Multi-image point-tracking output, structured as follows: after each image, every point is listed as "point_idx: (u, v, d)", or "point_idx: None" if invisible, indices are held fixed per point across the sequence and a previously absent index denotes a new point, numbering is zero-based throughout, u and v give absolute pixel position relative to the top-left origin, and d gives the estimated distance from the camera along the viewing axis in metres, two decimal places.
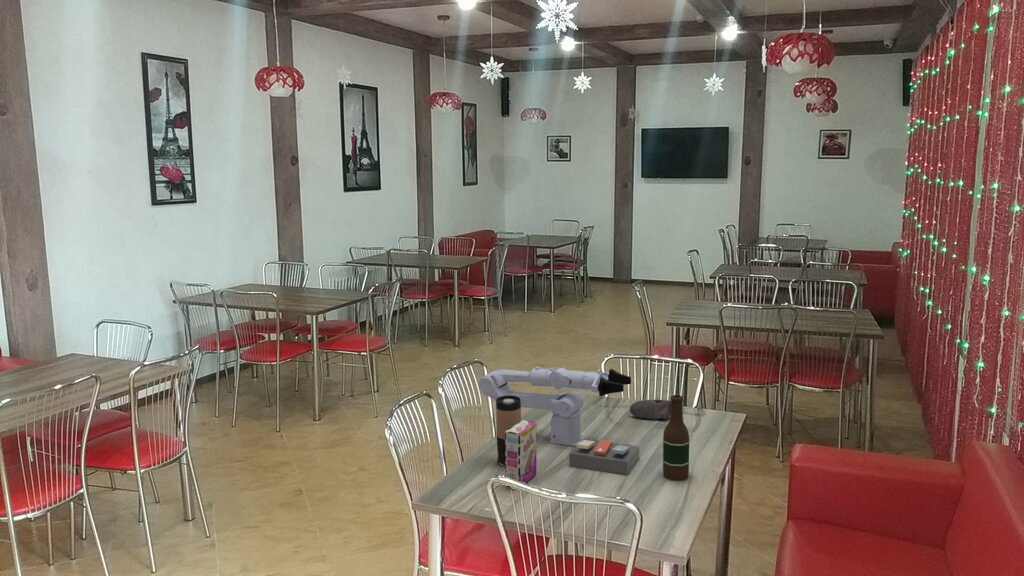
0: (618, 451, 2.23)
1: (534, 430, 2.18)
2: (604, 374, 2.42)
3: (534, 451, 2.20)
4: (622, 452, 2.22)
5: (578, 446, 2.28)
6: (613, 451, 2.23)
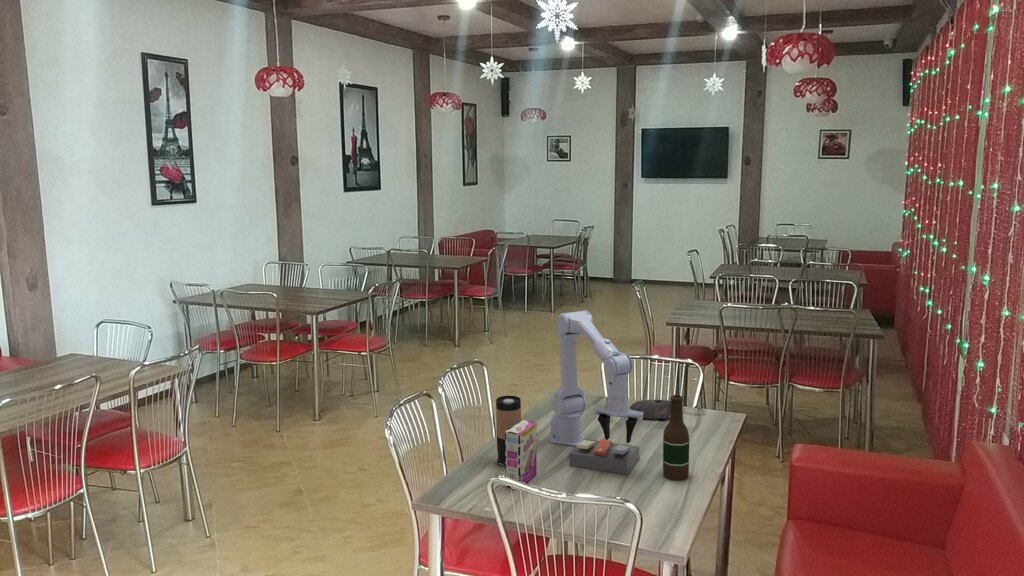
0: (618, 451, 2.23)
1: (534, 430, 2.18)
2: None
3: (534, 451, 2.20)
4: (622, 452, 2.22)
5: (578, 446, 2.28)
6: (613, 451, 2.23)
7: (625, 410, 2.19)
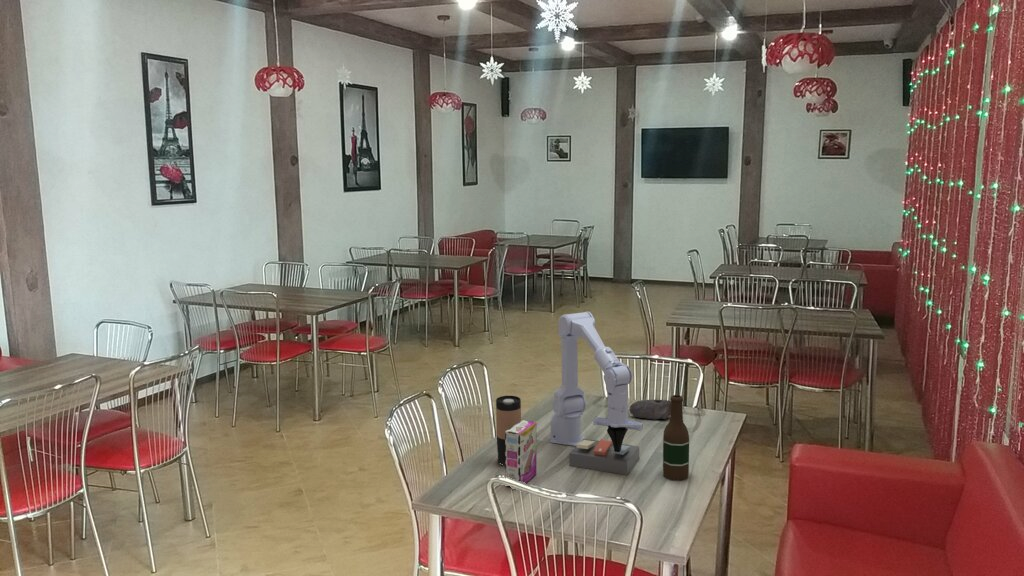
0: None
1: (534, 430, 2.18)
2: None
3: (534, 451, 2.20)
4: (622, 452, 2.22)
5: (578, 446, 2.28)
6: (613, 451, 2.23)
7: (625, 421, 2.19)
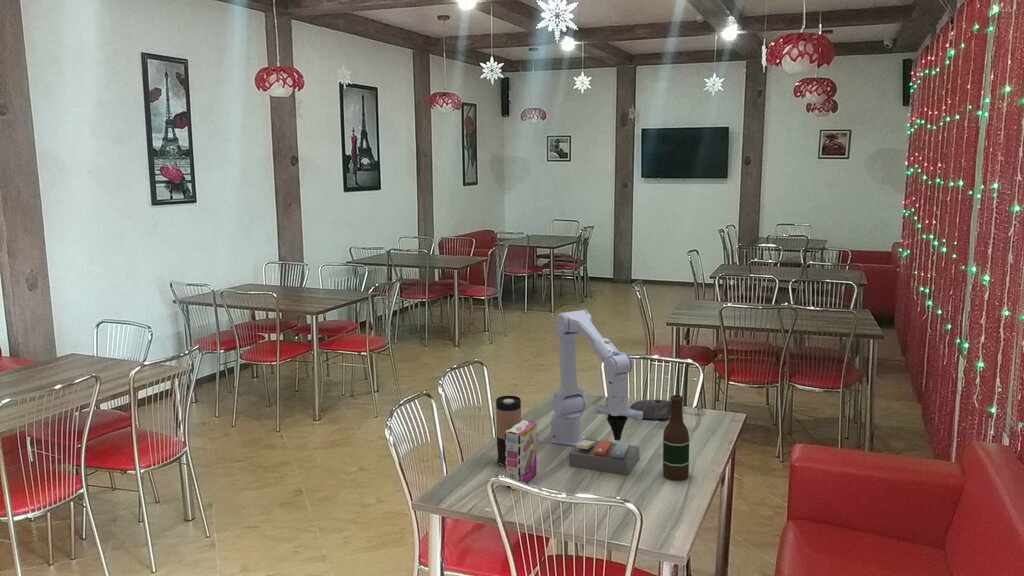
0: (618, 455, 2.23)
1: (534, 430, 2.18)
2: None
3: (534, 451, 2.20)
4: (622, 456, 2.22)
5: (578, 446, 2.28)
6: (613, 455, 2.23)
7: (625, 409, 2.20)
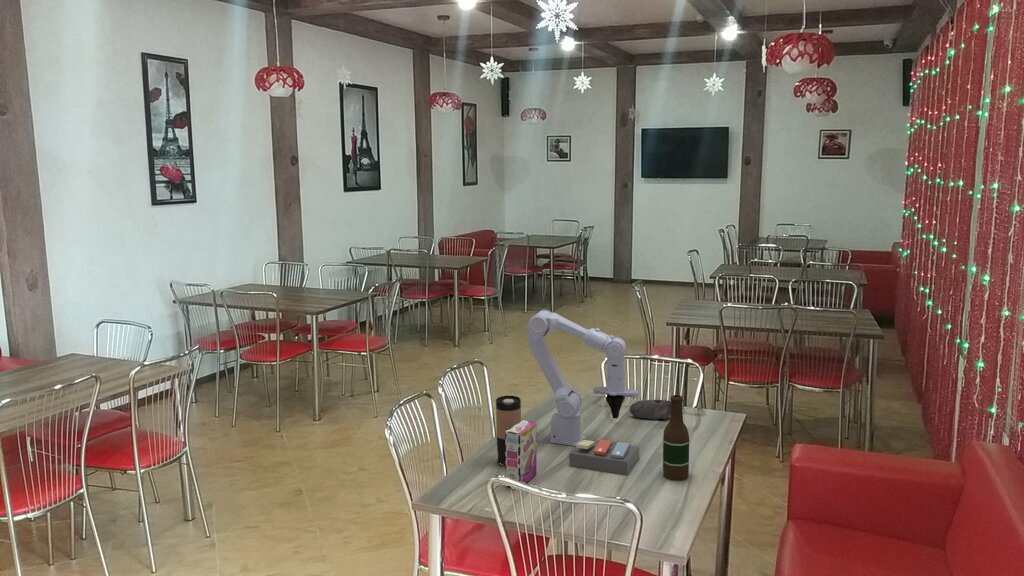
0: (618, 456, 2.23)
1: (534, 430, 2.18)
2: None
3: (534, 451, 2.20)
4: (622, 457, 2.22)
5: (578, 446, 2.28)
6: (613, 456, 2.23)
7: (622, 389, 2.38)
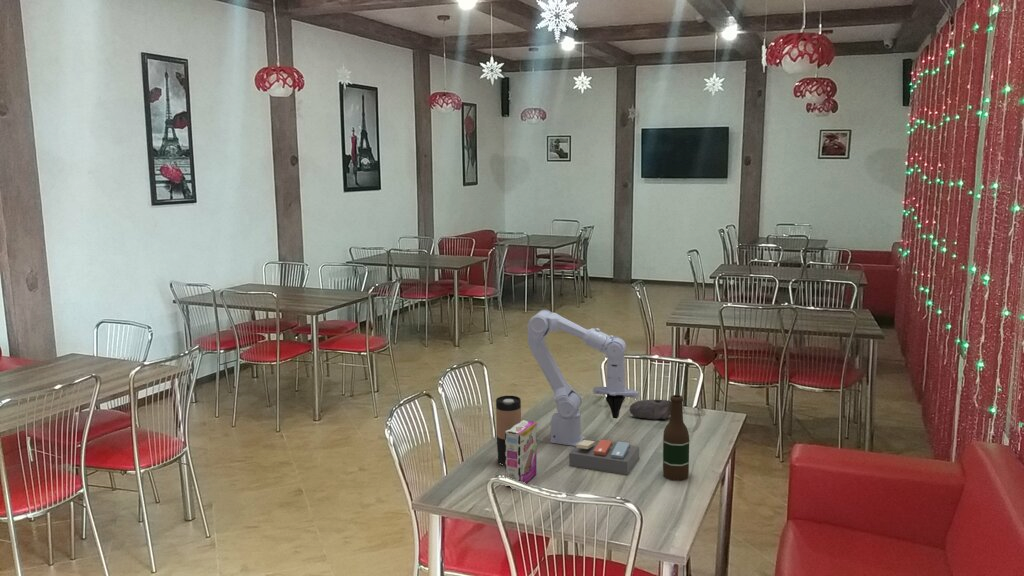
0: (618, 456, 2.23)
1: (534, 430, 2.18)
2: None
3: (534, 451, 2.20)
4: (622, 457, 2.22)
5: (578, 446, 2.28)
6: (613, 456, 2.23)
7: (622, 389, 2.38)
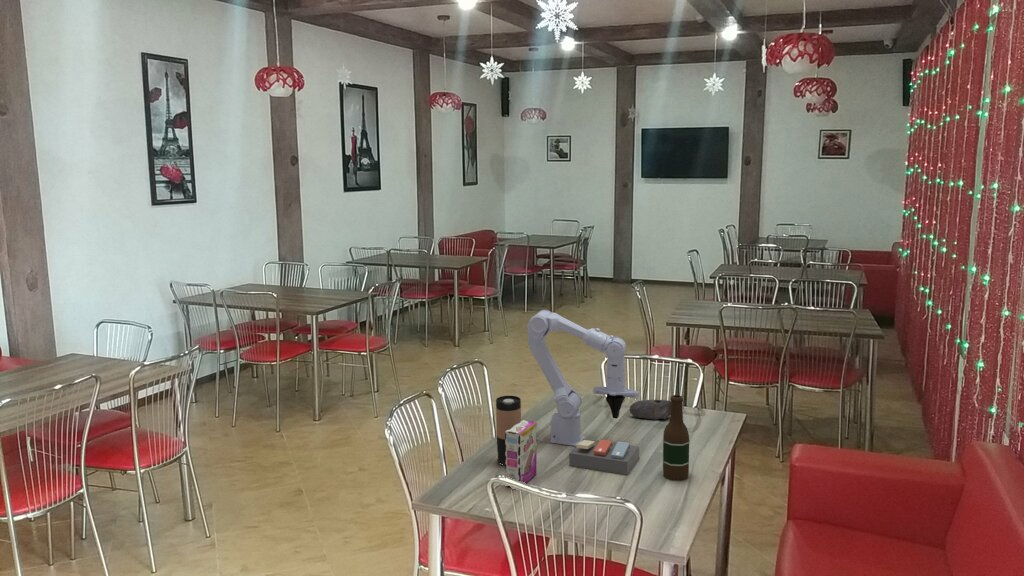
0: (617, 456, 2.23)
1: (534, 430, 2.18)
2: None
3: (534, 451, 2.20)
4: (622, 457, 2.22)
5: (578, 446, 2.28)
6: (613, 456, 2.23)
7: (622, 389, 2.38)
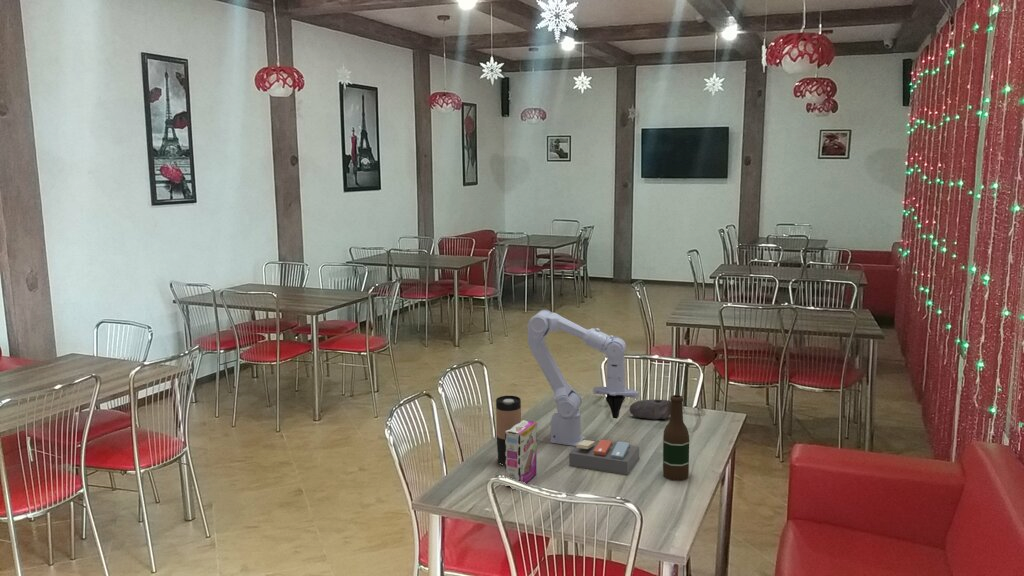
0: (617, 456, 2.23)
1: (534, 430, 2.18)
2: None
3: (534, 451, 2.20)
4: (622, 457, 2.22)
5: (578, 446, 2.28)
6: (613, 456, 2.23)
7: (622, 389, 2.38)
